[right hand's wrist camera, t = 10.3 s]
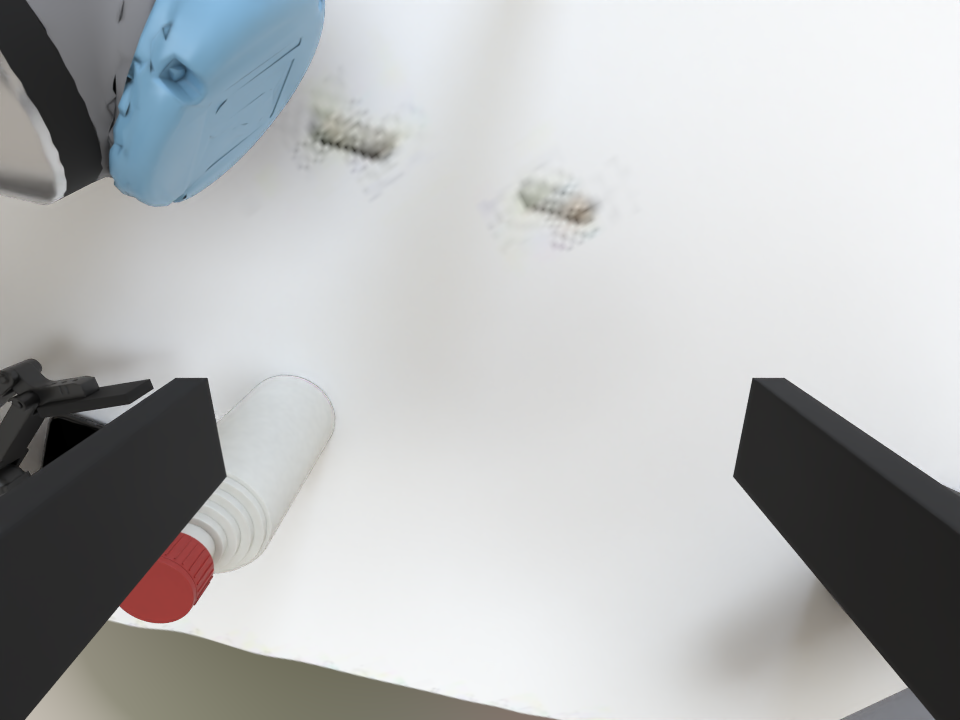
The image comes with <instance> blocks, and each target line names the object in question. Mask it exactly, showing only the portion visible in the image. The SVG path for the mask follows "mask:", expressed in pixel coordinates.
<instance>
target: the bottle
mask: <svg viewBox="0 0 960 720" xmlns="http://www.w3.org/2000/svg"><path fill="white" fill-rule="evenodd" d="M334 426H335V414H334V410H333V407H332V405H331V402H330V401H329V399H328V397H327V396H326V395H325V393H324V392H323V391H322V390H321V389H320V388H318V387H317V386H316V385H314V384H313V383H311V382H309V381H307V380H305V379H303V378H300V377H296V376H289V375H282V376H275V377H271V378H269V379H266V380H264V381H263V382H261V383H260V384H258V385H257V386H256V387H255V388H254V389H253V390H252V391H251V392H250V393H249V394H248V395H246V396H245V397H244V398H243V399H242V400H241V401H240V402H239V403H238V404H237V405H236V406H235V407H234V408H233V409H231V410H230V411H229V412H228V413H227V414H226V415H225V416H224V417H223V418H222V419H221V420H220V421H219V422H218V423H217V429H218V434H219V439H220V444H221V449H222V455H223V460H224V465H225V470H226V475H227V477H226V478H225V479H224V481H223V482H222V483H221V484H220V485H219V487H218V488H217V489H216V490H215V491H214V493H213V494H212V495H211V496H210V497H209V499H208V500H207V501H206V502H205V504H204V505H203V506H202V507H201V508H200V510H199V511H198V512H197V513H196V514H195V516H194V517H193V518H192V519H191V520H190V522H189V523H188V524H187V525H186V526H185V528H184V529H183V530H182V531H181V532H182V533H185V534H187V535H190V536H192V537H193V538H195V539H197V540H198V541H199V542H201V543H202V544H203V545H204V546H205V547H206V548H207V550H208V551H209V553H210V554H211V556H212V559H213V563H214V572H213V573H225V572H230V571H233V570H236V569H239V568H241V567H243V566H245V565H247V564H249V563H251V562H252V561H254V560H255V559H257V558H258V557H259V556H260V555H261V554H262V553H263V552H264V550H265V549H266V547H267V546H268V544H269V542H270V541H271V539H272V537H273V535H274V534H275V532H276V530H277V529H278V527H279V525H280V523H281V522H282V520H283V518H284V516H285V515H286V513H287V511H288V510H289V508H290V506H291V504H292V503H293V501H294V499H295V497H296V496H297V494H298V492H299V491H300V489H301V487H302V485H303V484H304V482H305V480H306V478H307V477H308V475H309V473H310V472H311V470H312V468H313V466H314V465H315V463H316V461H317V459H318V458H319V456H320V454H321V453H322V451H323V449H324V447H325V446H326V444H327V442H328V440H329V439H330V437H331V435H332V433H333V430H334Z"/></svg>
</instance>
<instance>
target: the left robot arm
mask: <svg viewBox="0 0 960 720" xmlns="http://www.w3.org/2000/svg"><path fill="white" fill-rule="evenodd" d="M324 15H325V0H0V195H2V196H7V197H11V198H15V199H20V200H24V201H28V202H33V203H37V204H42V205H46V204H51V203H53V202H55V201H57V200H60V199H62V198H63V197H65V196H67V195H69V194H71V193H73V192H75V191H77V190H79V189H81V188H83V187H85V186H87V185H89V184H91V183H93V182H95V181H97V180H100V179H102V178H104V177H112V178H113V179H114V185H115V186H116V187H117V188H118V189H119V190H120V191H121V192H122V193H123V194H125V195H128V196H132V197H135V198H136V199H138V200H139V201H141V202H143V203H145V204H147V205H150V206H154V207H158V206H168V205H169V204H171V203H172V202H181V201H183V200H186V199H188V198H190V197H192V196H194V195H195V194H197V193H199V192H200V191H202V190H203V189H205V188H206V187H207V186H209V185H210V184H212V183H213V182H214V181H215V180H217V179H218V178H219V177H221V176H222V175H223V174H224V173H225V172H226V171H228V170H229V169H230V168H231V167H232V166H233V165H234V164H235V163H236V162H237V161H238V160H239V159H240V158H241V157H243V155H244V154H245V153H246V152H247V151H248V150H249V149H250V148H251V147H252V146H253V145H254V144H255V143H256V142H257V141H258V139H259V138H260V137H261V136H262V135H263V134H264V132H265V131H266V130H267V129H268V128H269V126H270V125H271V124H272V123H273V121H274V120H275V119H276V117H277V116H278V115H279V114H280V112H281V111H282V110H283V108H284V107H285V105H286V104H287V102H288V101H289V99H290V98H291V96H292V95H293V93H294V92H295V90H296V89H297V87H298V85H299V83H300V82H301V80H302V78H303V76H304V74H305V73H306V71H307V69H308V67H309V65H310V63H311V61H312V58H313V56H314V54H315V51H316V49H317V46H318V43H319V40H320V36H321V32H322V28H323V23H324ZM41 371H42V367H41V364H40V363H39V362H38V361H36V360H34V359H28V360H25V361H23V362H20V363H18V364H15V365H13V366H10V367H8V368H5V369H3V370H1V371H0V407H1V406H2V405H4V404H5V403H6V402H7V401H8V402H10V401H12V405H11V407H10V409H9V411H8V412H7V414H6V416H5V417H4V419H3V421H2V423H1V424H0V495H2V494H4V493H6V492H8V491H9V490H11V489H12V488H14V487H15V486H17V485H18V484H20V483H21V482H23V481H24V480H26V479H27V478H29V477H30V476H31V475H30V473H29V471H27V472H24V471H23V470H22V469H21V468H19V465H20V463H21V462H22V460H23V458H24V457H25V455H26V454H27V452H28V450H29V449H28V448H27V446H28V445H29V443H30V442H31V440H32V438H33V437H34V435H35V433H36V432H37V430H38V429H39V427H40V425H41V424H42V422H43V420H44V419H45V417H51V416H58V415H64V414H70V413H76V412H83V411H89V410H95V409H102V408H108V407H114V406H121V405H127V404H131V403H132V402H134V401H135V400H137V399H138V398H140V397H141V396H143V395H145V394H146V393H148V392H149V391H151V390H152V389H154V388H153V386H152V383H151V381H150V379H148V380H142V381H135V382H129V383H123V384H117V385H111V386H104V387H99V386H98V384H97V382H96V379H95V377H90V376H83V377H77V378H71V379H65V380H59V381H51V380H48V379H47V378H45V377H44V376H43V375H42V374H41V373H40V372H41ZM16 393H17V394H18V395H17V396H14V395H15V394H16ZM13 396H14V397H13Z"/></svg>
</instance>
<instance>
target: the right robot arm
mask: <svg viewBox="0 0 960 720" xmlns="http://www.w3.org/2000/svg"><path fill="white" fill-rule="evenodd" d="M226 477H227V475H226V470H225V465H224V460H223V455H222V449H221V444H220V439H219V434H218V429H217V424H216V419H215V414H214V409H213V404H212V399H211V394H210V389H209V384H208V378H175V379H173V380H172V381H170V382H169V383H168V384H166V385H165V386H163V387H162V388H160V389H159V390H157V391H156V392H154V393H153V394H151V395H150V396H148V397H147V398H145V399H144V400H142V401H141V402H139V403H138V404H137V405H135V406H134V407H132V408H131V409H129V410H128V411H126V412H125V413H123V414H122V415H120V416H119V417H117V418H116V419H114V420H113V421H111V422H110V423H108V424H107V425H105V426H104V427H103V428H101V429H100V430H98V431H97V432H95V433H94V434H92V435H91V436H89V437H88V438H86V439H85V440H83V441H82V442H80V443H79V444H77V445H76V446H74V447H73V448H71V449H70V450H69V451H67V452H66V453H64V454H63V455H61V456H60V457H58V458H57V459H55V460H54V461H52V462H51V463H49V464H48V465H46V466H45V467H43V468H42V469H40V470H39V471H37V472H36V473H35V474H33V475H32V476H30V477H29V478H27V479H26V480H24V481H23V482H21V483H20V484H18V485H17V486H15V487H14V488H12V489H11V490H9V491H8V492H6V493H4V494H2V495H0V720H25V719H26V718H27V716H28V715H29V714H30V713H31V712H32V710H33V709H34V708H35V707H36V706H37V704H38V703H39V702H40V701H41V699H42V698H43V697H44V696H45V695H46V694H47V692H48V691H49V690H50V689H51V688H52V686H53V685H54V684H55V683H56V681H57V680H58V679H59V678H60V677H61V675H62V674H63V673H64V672H65V671H66V670H67V668H68V667H69V666H70V665H71V663H72V662H73V661H74V660H75V659H76V657H77V656H78V655H79V654H80V653H81V651H82V650H83V649H84V648H85V647H86V645H87V644H88V643H89V642H90V641H91V639H92V638H93V637H94V636H95V635H96V633H97V632H98V631H99V630H100V629H101V627H102V626H103V625H104V624H105V623H106V621H107V620H108V619H109V618H110V617H111V615H112V614H113V613H114V612H115V611H116V609H117V608H118V607H119V606H120V605H121V603H122V602H123V601H124V600H125V599H126V597H127V596H128V595H129V594H130V593H131V591H132V590H133V589H134V588H135V587H136V585H137V584H138V583H139V582H140V580H141V579H142V578H143V577H144V576H145V574H146V573H147V572H148V571H149V570H150V568H151V567H152V566H153V565H154V564H155V562H156V561H157V560H158V559H159V558H160V556H161V555H162V554H163V553H164V552H165V550H166V549H167V548H168V547H169V546H170V544H171V543H172V542H173V541H174V540H175V538H176V537H177V536H178V535H179V534H180V532H181V531H182V530H183V529H184V528H185V526H186V525H187V524H188V523H189V522H190V520H191V519H192V518H193V517H194V516H195V514H196V513H197V512H198V511H199V510H200V508H201V507H202V506H203V505H204V504H205V502H206V501H207V500H208V499H209V497H210V496H211V495H212V494H213V493H214V491H215V490H216V489H217V488H218V487H219V485H220V484H221V483H222V482H223V481H224V479H225V478H226ZM733 477H734V478H735V479H736V481H737V482H738V483H739V484H740V485H741V487H742V488H743V489H744V490H745V491H746V493H747V494H748V495H749V496H750V497H751V499H752V500H753V501H754V502H755V504H756V505H757V506H758V507H759V508H760V510H761V511H762V512H763V513H764V514H765V516H766V517H767V518H768V519H769V520H770V522H771V523H772V524H773V525H774V526H775V528H776V529H777V530H778V531H779V532H780V534H781V535H782V536H783V537H784V538H785V540H786V541H787V542H788V543H789V544H790V546H791V547H792V548H793V549H794V550H795V552H796V553H797V554H798V555H799V556H800V558H801V559H802V560H803V561H804V562H805V564H806V565H807V566H808V567H809V568H810V570H811V571H812V572H813V573H814V574H815V576H816V577H817V578H818V579H819V581H820V582H821V583H822V584H823V585H824V587H825V588H826V589H827V590H828V591H829V593H830V594H831V595H832V597H833V598H834V599H835V600H836V602H837V603H838V604H839V605H840V606H841V608H842V609H843V610H844V611H845V612H846V613H847V614H848V615H849V617H850V618H851V619H852V620H853V621H854V623H855V624H856V625H857V626H858V627H859V629H860V630H861V631H862V632H863V633H864V635H865V636H866V637H867V638H868V639H869V641H870V642H871V643H872V644H873V645H874V647H875V648H876V649H877V650H878V651H879V653H880V654H881V655H882V656H883V657H884V659H885V660H886V661H887V662H888V664H889V665H890V666H891V667H892V668H893V670H894V671H895V672H896V673H897V674H898V676H899V677H900V678H901V679H902V680H903V682H904V683H905V684H906V685H907V686H908V688H907V689H905V690H902V691H900V692H898V693H896V694H894V695H892V696H890V697H887V698H885V699H883V700H881V701H879V702H877V703H875V704H873V705H870V706H868V707H866V708H864V709H862V710H860V711H858V712H855V713H853V714H851V715H849V716H847V717H845V718H843V719H840V720H960V493H959V492H957V491H955V490H952V489H950V488H948V487H946V486H944V485H942V484H940V483H939V482H937V481H936V480H934V479H933V478H931V477H930V476H928V475H927V474H925V473H924V472H923V471H921V470H920V469H918V468H917V467H915V466H914V465H912V464H911V463H909V462H908V461H906V460H905V459H903V458H902V457H900V456H899V455H897V454H896V453H894V452H893V451H891V450H890V449H889V448H887V447H886V446H884V445H883V444H881V443H880V442H878V441H877V440H875V439H874V438H872V437H871V436H869V435H868V434H866V433H865V432H863V431H862V430H860V429H859V428H857V427H856V426H855V425H853V424H852V423H850V422H849V421H847V420H846V419H844V418H843V417H841V416H840V415H838V414H837V413H835V412H834V411H832V410H831V409H829V408H828V407H826V406H825V405H823V404H822V403H821V402H819V401H818V400H816V399H815V398H813V397H812V396H810V395H809V394H807V393H806V392H804V391H803V390H801V389H800V388H798V387H797V386H795V385H794V384H792V383H791V382H789V381H788V380H787V379H785V378H752V383H751V389H750V394H749V399H748V404H747V409H746V414H745V419H744V424H743V429H742V434H741V439H740V444H739V449H738V455H737V460H736V465H735V470H734V475H733Z"/></svg>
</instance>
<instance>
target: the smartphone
mask: <svg viewBox="0 0 960 720" xmlns="http://www.w3.org/2000/svg"><path fill="white" fill-rule="evenodd" d="M103 427H104V426H103V425H100V424H98V423H95V422H92V421H89V420H86V419H83V418H81V417H78V416H75V415H72V414H64V415H58V416H51V418H50V420H49V423H48V429H47V435H46V440H45V446H44V452H43V458H42V463H41V469H42V468H43V467H45V466H46V465H48V464H49V463H51V462H52V461H54V460H55V459H57V458H58V457H60V456H61V455H63V454H64V453H66V452H67V451H69V450H70V449H71V448H73V447H74V446H76V445H77V444H79V443H80V442H82V441H83V440H85V439H86V438H88V437H89V436H91V435H92V434H94V433H95V432H97V431H98V430H100V429H101V428H103Z"/></svg>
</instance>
